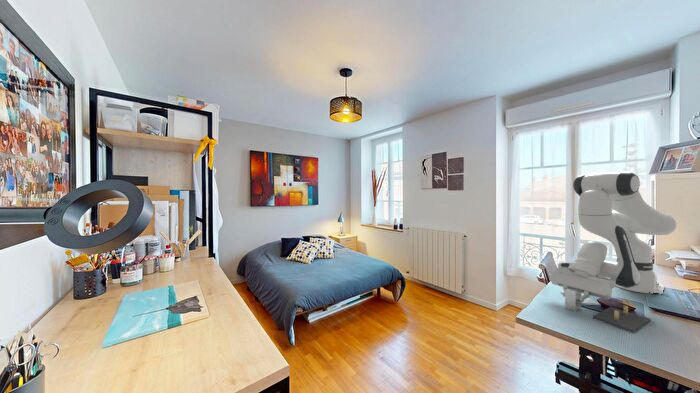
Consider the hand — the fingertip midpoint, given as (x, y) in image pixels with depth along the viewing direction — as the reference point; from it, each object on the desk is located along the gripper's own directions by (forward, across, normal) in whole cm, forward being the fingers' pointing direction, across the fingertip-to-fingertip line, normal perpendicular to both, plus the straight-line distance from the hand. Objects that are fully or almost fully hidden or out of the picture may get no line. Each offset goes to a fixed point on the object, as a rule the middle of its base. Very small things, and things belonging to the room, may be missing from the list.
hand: (572, 298), depth 106 cm
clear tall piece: (+3, 0, -4) cm, 4 cm away
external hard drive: (-6, +3, -14) cm, 15 cm away
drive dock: (-1, -13, -7) cm, 15 cm away
